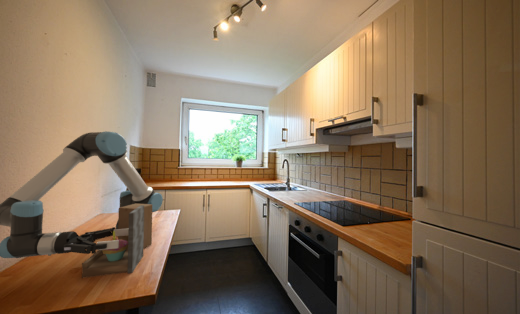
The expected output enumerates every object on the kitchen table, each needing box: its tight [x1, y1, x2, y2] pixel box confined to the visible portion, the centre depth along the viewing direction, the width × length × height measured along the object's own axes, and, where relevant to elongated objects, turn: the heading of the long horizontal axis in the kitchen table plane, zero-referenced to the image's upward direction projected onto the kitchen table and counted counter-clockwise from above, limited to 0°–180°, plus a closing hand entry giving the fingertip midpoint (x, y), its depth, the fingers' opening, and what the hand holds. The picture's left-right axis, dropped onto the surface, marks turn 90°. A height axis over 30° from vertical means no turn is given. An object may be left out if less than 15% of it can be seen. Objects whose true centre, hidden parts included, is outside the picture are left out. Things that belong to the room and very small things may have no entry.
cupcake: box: [102, 231, 128, 261], centre depth 79 cm, size 9×8×12 cm
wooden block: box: [117, 204, 153, 252], centre depth 96 cm, size 10×10×20 cm
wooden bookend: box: [81, 205, 144, 279], centre depth 79 cm, size 14×16×22 cm
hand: (125, 237), depth 80 cm, fingers open, 13 cm apart
